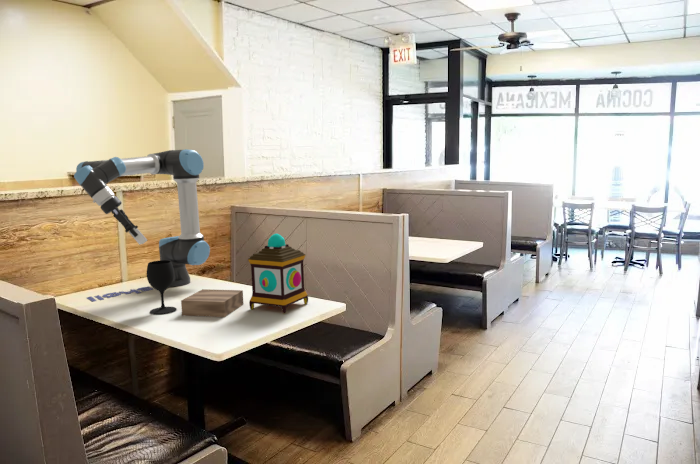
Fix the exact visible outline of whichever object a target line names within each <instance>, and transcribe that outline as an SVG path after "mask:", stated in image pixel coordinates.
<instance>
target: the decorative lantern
mask: <svg viewBox="0 0 700 464" xmlns="http://www.w3.org/2000/svg"><path fill="white" fill-rule="evenodd" d="M305 258H306V254H305V253H304V252H303V251H301V250H300V249H295V248H294V247H293V248H292V246H290V245H289V244H286V241H285V238H284V237H283V236H282V235H281V234H279V233H273V234H272V235H271V236H270V237H269V238H268V239H267V245H265V246H264V248H261V250H259V251H257V252H256V253H255V252H254V253H253V254H252V255H251V256H249V257H248V258H247V261H248V263H249V264H250V269H251V270H250V272H251V274H250V275H251V289H252V292H251V297H250V298H249V299H250V300H249V309H250V310H253V309H255V304H257V305H262V306H263V305H265V306H273V307H280V308H281V310H282V314H284V315H285V314H286V313H287V307H288V306H290V305H293V304H295V303H297V302H299V301H301V300H303V303H304V304H305V305H306V304H308V303H309V296H308V295H309V294H308V293H307V291H306V290H305V275H304V259H305Z"/></svg>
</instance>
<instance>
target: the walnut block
mask: <svg viewBox="0 0 700 464" xmlns="http://www.w3.org/2000/svg"><path fill="white" fill-rule="evenodd" d="M180 304H181V306H180V307H181V316H183V317H184V316H191V317H210V318H211V317H214V318H216V317H217V318H219V317H220V318H226V317H227V316H229V315H231V314H232V313H233V312H234V311H236V310H238V309H239V308H241V307H242V306H244V291H243V290H242V289H241V290H240V289H203V288H202V289H200V290H199V291H197V292H194V293H193V294H191V295H189V296H187V297H185V298H183V299H181V300H180Z"/></svg>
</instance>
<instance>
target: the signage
mask: <svg viewBox="0 0 700 464" xmlns="http://www.w3.org/2000/svg"><path fill="white" fill-rule="evenodd" d="M153 290H154V288H153V287H151V286H143V287H138V288H137V289H134V288H133V289H130V291H128V290H127V291H123V290H122V291H118V292H116V291H114V292H109V293H105V294H102V296H101V295H99V294H98V295H95V296H93V297H92V296H89V297H86V299H87V300H89V301H90V302H93V303H94V302H97V299H98V300H99V301H104V300H105V298H107V299H110V298H115V297H119V296H121V295H122V294H125V295H130V294H132V293H135V294H137V295H138V294H141V293H142V292H149V291H153Z"/></svg>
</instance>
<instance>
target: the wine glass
mask: <svg viewBox="0 0 700 464" xmlns="http://www.w3.org/2000/svg"><path fill="white" fill-rule="evenodd" d="M146 279H147V280H146V281H148V284H149V285H150V287H151V288H153V290H156V291H158V292H159V295H160V301H161V304H160V306H159V307H156V308H153V309H151V310H150V311H149V314H151V315H156V316H157V315H167V314H172V313H175V312H176V311H178V309H177V307H175V306H165V305H166V304H165V299H164V298H165V297H164V295H165V291H166V290H167V289H168V288H170V287H169V286H170V285H171V284H172V282H173V279H174V269H173V265H172V263H171V261H169V260H160V259H159V260H153V261H149V262H148V263H147V268H146Z"/></svg>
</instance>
